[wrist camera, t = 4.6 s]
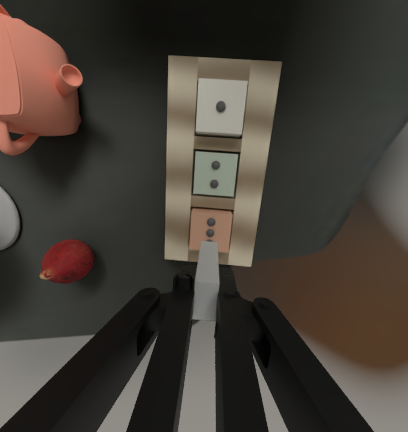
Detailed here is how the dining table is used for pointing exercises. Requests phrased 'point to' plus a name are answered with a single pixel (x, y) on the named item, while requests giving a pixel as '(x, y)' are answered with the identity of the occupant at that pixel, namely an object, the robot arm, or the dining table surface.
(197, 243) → the key three
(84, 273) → the onion
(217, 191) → the key two
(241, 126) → the key one
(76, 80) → the teapot
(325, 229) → the dining table surface
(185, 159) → the key board
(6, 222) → the chalice
